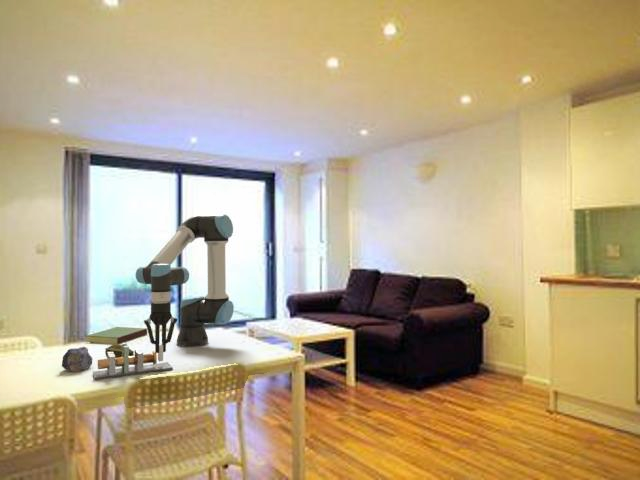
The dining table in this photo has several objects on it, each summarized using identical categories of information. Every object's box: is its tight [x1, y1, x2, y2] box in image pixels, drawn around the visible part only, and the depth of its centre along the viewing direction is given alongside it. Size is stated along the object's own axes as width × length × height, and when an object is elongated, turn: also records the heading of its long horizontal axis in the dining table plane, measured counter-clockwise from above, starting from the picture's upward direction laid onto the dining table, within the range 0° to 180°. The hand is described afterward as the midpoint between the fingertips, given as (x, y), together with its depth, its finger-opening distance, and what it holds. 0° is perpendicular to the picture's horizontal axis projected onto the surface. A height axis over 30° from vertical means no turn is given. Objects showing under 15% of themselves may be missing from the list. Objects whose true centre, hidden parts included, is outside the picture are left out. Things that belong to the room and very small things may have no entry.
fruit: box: [104, 344, 135, 358], centre depth 197 cm, size 11×12×7 cm
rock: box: [61, 346, 93, 373], centre depth 183 cm, size 11×10×10 cm
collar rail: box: [92, 342, 173, 381], centre depth 180 cm, size 9×28×11 cm, turn 120°
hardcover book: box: [85, 326, 148, 345], centre depth 242 cm, size 25×19×4 cm
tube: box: [97, 351, 158, 370], centre depth 179 cm, size 5×21×5 cm, turn 120°
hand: (160, 360), depth 185 cm, fingers closed
